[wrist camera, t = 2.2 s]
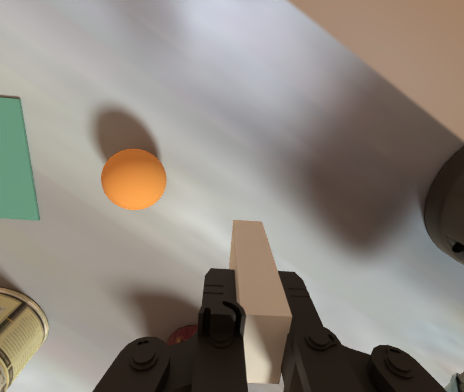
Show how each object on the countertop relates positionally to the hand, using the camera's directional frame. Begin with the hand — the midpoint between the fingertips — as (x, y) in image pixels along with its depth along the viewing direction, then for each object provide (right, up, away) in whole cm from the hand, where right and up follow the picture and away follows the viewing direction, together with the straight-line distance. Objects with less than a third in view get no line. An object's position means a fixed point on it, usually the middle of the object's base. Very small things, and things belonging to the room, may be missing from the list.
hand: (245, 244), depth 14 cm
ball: (-9, +4, +10) cm, 14 cm away
